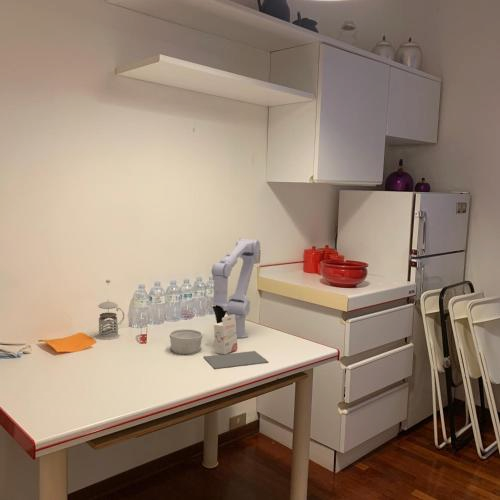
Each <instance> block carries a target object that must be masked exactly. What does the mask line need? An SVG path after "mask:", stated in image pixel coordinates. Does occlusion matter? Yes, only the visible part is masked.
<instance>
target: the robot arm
mask: <svg viewBox="0 0 500 500" xmlns="http://www.w3.org/2000/svg"><path fill="white" fill-rule="evenodd" d="M260 251H261V243H260V241H259V240H258V239H251V238H250V239H247V238H241V237H239V238H238V239H237V240H236V242H235V247H234V248H233V250H232V251H231V252H229V253H228V252H227V253H226V254H225V255H224V257H222V258H221V259H220V260H219V261H218V262H215V263H213V265H212V267H211V275H212V281H213V298H211V299H212V300H211V301H210V304H211V305H214V306H211V307H212V310H213V312H214V315H215V321H216V322H215V323H216V324H218V323H221V322H222V318H223V317H226V314H227V316H230V315H233V314H235V320H236V332H237V339H240V338H241V339H242V338H248V337H249V336H248V335H247V334H246V333H245V332H246V331H245V330H246V329H245V328H246V317H247V316H248V315H249V314H250V311H251V310H250V309H251V307H250V306H251V301H250V299H249V297H247V293H248V289H249V284H250V280H251V277H252V273H253V269H254V265H255V262H256V260H258V258H259V256H260V255H259V254H260ZM239 258H240V259H241V260H242V265H241V269H240V272H239V276H238V280H237V284H236V288H235V290H234V293H233V294H231V295H230V296H229V297H228V288H229V287H228V284H229V283H228V282H229V277H230V276H231V273H232V271H233V268H234V267H235V265H236V264H237V263H238V259H239ZM228 320H231V318H228V319H227V321H228Z"/></svg>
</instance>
